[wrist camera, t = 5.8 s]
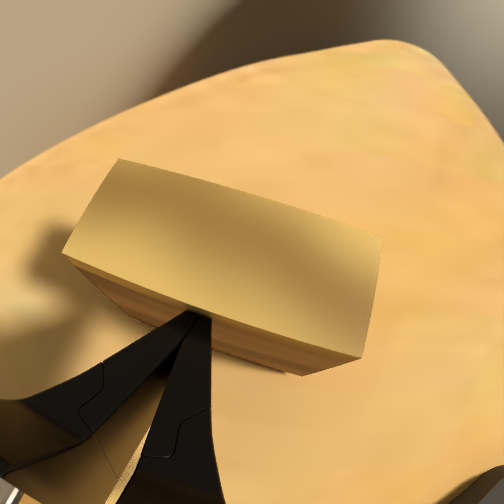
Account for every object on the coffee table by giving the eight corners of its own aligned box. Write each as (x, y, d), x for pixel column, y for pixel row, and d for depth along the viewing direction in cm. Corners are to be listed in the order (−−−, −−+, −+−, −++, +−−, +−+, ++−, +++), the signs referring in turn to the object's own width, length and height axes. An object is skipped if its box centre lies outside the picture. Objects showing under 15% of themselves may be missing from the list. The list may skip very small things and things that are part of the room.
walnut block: (302, 376, 15) (361, 357, 8) (129, 315, 16) (61, 252, 9) (321, 305, 17) (383, 237, 10) (158, 251, 18) (118, 158, 11)
